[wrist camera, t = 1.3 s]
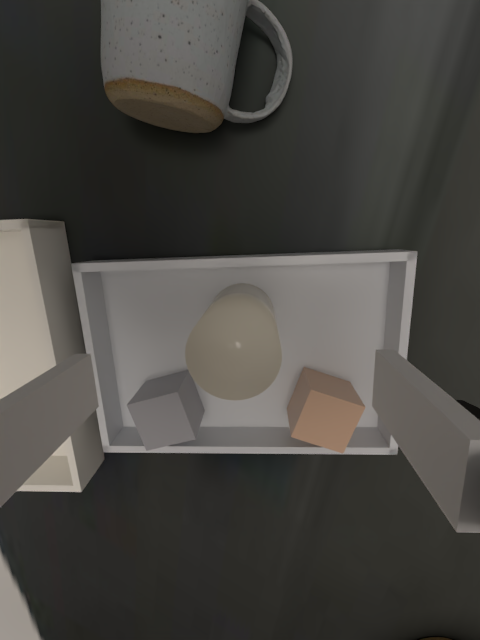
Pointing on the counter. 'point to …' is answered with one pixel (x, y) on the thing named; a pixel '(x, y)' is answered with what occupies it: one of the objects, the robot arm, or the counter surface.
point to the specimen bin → (43, 337)
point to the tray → (293, 328)
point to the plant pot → (436, 638)
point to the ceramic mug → (184, 60)
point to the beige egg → (235, 344)
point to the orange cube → (324, 410)
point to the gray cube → (167, 410)
